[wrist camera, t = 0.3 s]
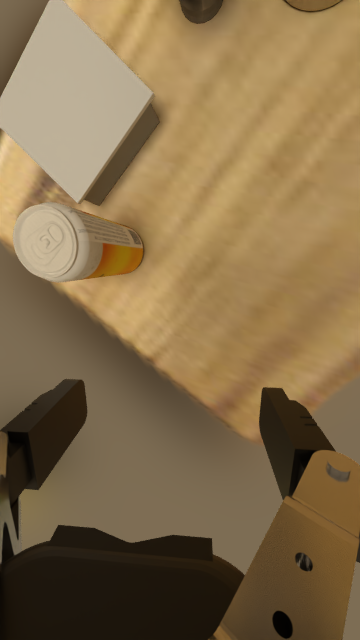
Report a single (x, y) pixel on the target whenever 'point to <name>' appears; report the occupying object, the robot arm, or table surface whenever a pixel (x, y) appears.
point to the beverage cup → (200, 9)
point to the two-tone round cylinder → (73, 244)
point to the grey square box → (76, 106)
